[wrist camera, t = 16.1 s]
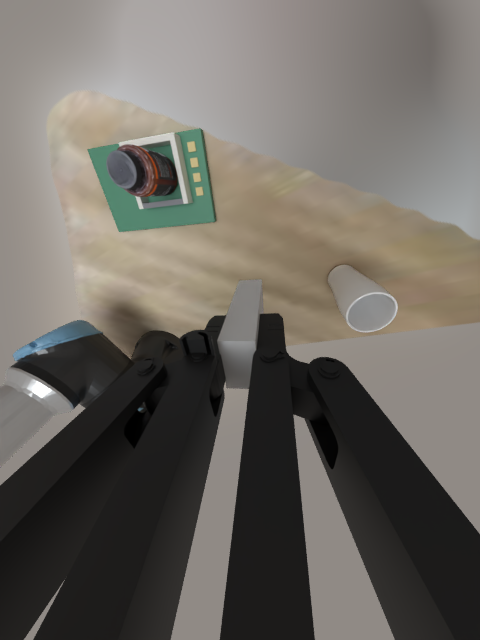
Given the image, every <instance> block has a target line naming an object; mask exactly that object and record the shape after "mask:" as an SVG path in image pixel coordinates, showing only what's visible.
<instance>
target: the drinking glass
mask: <svg viewBox="0 0 480 640" xmlns="http://www.w3.org/2000/svg"><path fill="white" fill-rule="evenodd" d="M328 284H329V286H330V288H331V290H332V293H333V295H334V298H335V301H336V303H337V306H338V309H339V311H340V313H341V315H342V316H343V318H344V319H345V321H346V322H347V324H348V325H349V326H350V327H351V328H352V329H354V330H356V331H359V332H373V331H377V330H380V329H382V328H384V327H385V326H387V325H388V324H389V323H390V322H391V321H392V320H393V319H394V317H395V316H396V314H397V310H398V305H397V302H396V300H395V298H394V297H393V296H392V295H391V294H390V293H389V292H388V291H387V290H386V289H384V288H383V287H382V286H381V285H379V284H378V283H377V282H375V281H373V280H372V279H370V278H368V277H367V276H365V275H363V274H362V273H360V272H358V271H357V270H355V269H354V268H353V267H352V266H350V265H339V266H337V267H335V268H334V269H333V270H332V271H331V272H330V273H329V275H328Z"/></svg>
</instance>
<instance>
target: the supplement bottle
mask: <svg viewBox="0 0 480 640" xmlns="http://www.w3.org/2000/svg"><path fill="white" fill-rule="evenodd" d="M106 166H107V171H108V174H109V176H110V178H111V179H112V181H113V182H114V183H115V184H116V185H117V186H119V187H121V188H123V189H124V190H125V191H127V192H128V193H130V194H131V195H134V196H137V197H152V196H166V195H169V194H171V193H172V192H173V191H174V190H175V188H176V186H177V180H178V177H177V172H176V169H175V166H174V165H173V163H172V162H171V160H170V159H169V158H167V157H166V156H165V155H163V154H160V153H157V152H154V151H151V150H148V149H145V148H142V147H139V146H136V145H131V144H126V145H122V146H120V147H119V148H118V149H117V150H114V151H112V152H111V153H110V154H109V155H108V157H107V160H106Z"/></svg>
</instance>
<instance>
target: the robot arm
mask: <svg viewBox="0 0 480 640" xmlns="http://www.w3.org/2000/svg"><path fill="white" fill-rule="evenodd" d="M13 357H14V360H15V361H17V363H15V364H14V365H12V366H11V367H10V368H8V369H7V370H6V375H5V382H4V384H3V385H2V386H1V387H0V468H1V467H2V465H4V464H5V463H6V462H7V461H8V460H9V459H10V458H11V457H12V456H13V455H14V454H15V453H16V452H17V451H18V450H19V449H20V448H21V447H22V446H23V445H24V444H25V443H26V442H27V441H28V440H29V439H30V438H32V436H34V435H35V434H36V433H37V432H38V431H39V430H40V428H42V427H43V426H44V425H45V424H46V423H47V422H48V421H49V420H50V419H51V418H52V417H53V416H55V415H58V414H62V413H67V412H71V411H72V410H73V409H74V408H75V407H76V406H77V405H78V404H80V405H82V406H83V407H85V408H86V409H85V410H83V412H81V413H80V414H79V415H78V416H77V417H76V418H75V419H74V420H72V421H71V422H70V423H69V424H68V425H67V426H66V427H65V428H64V429H62V430H61V431H60V432H59V433H58V434H57V435H56V436H55V437H54V438H53V439H51V440H50V441H49V442H48V443H47V444H46V445H45V446H44V447H43V448H41V449H40V450H39V451H38V452H37V453H36V454H35V455H34V456H33V457H31V458H30V459H29V460H28V461H27V462H26V463H25V464H24V465H23V466H22V467H20V468H19V469H18V470H17V471H16V472H15V473H14V474H13V475H12V476H11V477H9V478H8V479H7V480H6V481H5V482H4V483H3V484H2V485H0V640H24V638H25V637H26V636H27V634H28V633H29V631H30V630H31V628H32V627H33V625H34V624H35V622H36V621H37V619H38V618H39V616H40V615H41V613H42V612H43V610H44V609H45V608H46V606H47V605H48V603H49V602H50V600H51V599H52V597H53V596H54V594H55V593H56V591H57V590H58V589H59V587H60V586H61V584H62V582H63V581H64V580H65V581H64V583H63V585H62V587H61V588H60V590H59V592H58V594H57V596H56V598H55V600H54V602H53V604H52V605H51V607H50V609H49V611H48V613H47V615H46V617H45V619H44V621H43V622H42V624H41V626H40V628H39V630H38V632H37V634H36V636H35V638H34V640H170V639H171V635H172V630H173V626H174V621H175V617H176V612H177V608H178V604H179V599H180V595H181V590H182V586H183V581H184V577H185V572H186V568H187V563H188V559H189V554H190V550H191V545H192V541H193V536H194V532H195V528H196V523H197V519H198V514H199V510H200V505H201V501H202V496H203V492H204V487H205V483H206V478H207V474H208V469H209V464H210V461H211V456H212V452H213V447H214V442H215V438H216V434H217V429H218V425H219V420H220V416H221V411H222V407H223V403H224V390H223V388H224V383H225V382H226V386H227V388H240V389H249V394H248V402H247V412H246V419H245V428H244V438H243V446H242V454H241V462H240V472H239V479H238V488H237V497H236V505H235V514H234V523H233V532H232V540H231V548H230V557H229V566H228V574H227V582H226V591H225V600H224V608H223V617H222V626H221V634H220V640H315V638H314V628H313V617H312V606H311V596H310V585H309V575H308V565H307V554H306V543H305V533H304V523H303V512H302V502H301V491H300V481H299V470H298V459H297V449H296V439H295V429H294V418H293V414H294V415H297V416H300V417H303V418H305V421H306V423H307V426H308V428H309V431H310V433H311V436H312V438H313V441H314V443H315V446H316V448H317V450H318V453H319V455H320V458H321V460H322V463H323V465H324V467H325V470H326V472H327V475H328V477H329V480H330V482H331V484H332V487H333V489H334V492H335V494H336V497H337V499H338V502H339V504H340V507H341V509H342V511H343V514H344V516H345V519H346V521H347V524H348V526H349V529H350V531H351V533H352V536H353V538H354V540H355V543H356V546H357V548H358V550H359V553H360V555H361V558H362V560H363V562H364V565H365V568H366V570H367V572H368V575H369V577H370V580H371V582H372V585H373V587H374V589H375V592H376V594H377V597H378V599H379V601H380V604H381V607H382V609H383V611H384V614H385V616H386V619H387V621H388V624H389V626H390V629H391V631H392V633H393V636H394V638H395V640H480V534H479V533H478V531H477V530H476V529H475V528H474V526H473V525H472V524H471V522H470V521H469V520H468V519H467V517H466V516H465V515H464V514H463V512H462V511H461V510H460V509H459V507H458V506H457V505H456V504H455V502H454V501H453V500H452V499H451V497H450V496H449V495H448V493H447V492H446V491H445V490H444V488H443V487H442V486H441V485H440V483H439V482H438V481H437V480H436V478H435V477H434V476H433V474H432V473H431V472H430V471H429V469H428V468H427V467H426V466H425V464H424V463H423V462H422V461H421V459H420V458H419V457H418V456H417V454H416V453H415V452H414V450H413V449H412V448H411V447H410V445H409V444H408V443H407V442H406V440H405V439H404V438H403V437H402V435H401V434H400V433H399V432H398V431H397V429H396V428H395V427H394V425H393V424H392V423H391V421H390V420H389V419H388V418H387V416H386V415H385V414H384V413H383V411H382V410H381V409H380V408H379V406H378V405H377V404H376V402H375V401H374V400H373V399H372V398H371V396H370V395H369V394H368V392H367V391H366V390H365V389H364V387H363V386H362V385H361V384H360V383H359V381H358V380H357V378H356V377H355V376H354V375H353V373H352V372H351V371H350V370H349V368H348V367H347V366H346V365H345V364H343V363H342V362H340V361H338V360H336V359H333V358H329V357H320V358H317V359H314V360H313V361H311V362H310V364H307V363H304V362H300V361H297V360H295V359H293V358H292V357H291V356H289V354H288V353H287V351H286V346H285V335H284V324H283V318H282V317H281V316H280V314H279V313H274V314H264V311H263V292H262V279H257V280H239V282H238V285H237V288H236V291H235V293H234V296H233V299H232V302H231V304H230V307H229V310H228V313H227V315H225V316H214V317H213V318H212V319H210V320H209V322H208V324H207V326H206V328H205V330H194V331H191V332H188V333H186V334H184V335H183V336H182V337H181V338H180V339H179V338H177V337H176V336H174V335H172V334H170V333H167V332H163V331H151V332H148V333H146V334H144V335H143V336H142V337H141V338H140V339H139V340H138V342H137V344H136V346H135V350H134V352H133V355H132V358H131V359H130V358H128V357H127V356H126V355H125V354H124V353H123V352H122V351H121V350H120V349H119V348H118V347H116V346H115V345H114V344H113V343H112V342H111V341H110V340H109V339H108V338H107V337H106V336H105V335H104V334H103V332H101V331H99V330H97V329H96V328H95V327H94V326H92V325H91V324H90V323H89V322H87V321H84V320H77V321H73V322H71V323H68V324H66V325H63V326H61V327H59V328H57V329H55V330H53V331H51V332H49V333H47V334H45V335H43V336H41V337H39V338H38V339H36V340H35V341H33V342H31V343H29V344H27V345H25V346H23V347H22V348H20V349H19V350H17V351H16V352H15V353H14V354H13ZM65 578H66V579H65Z"/></svg>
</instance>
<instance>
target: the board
mask: <svg viewBox="0 0 480 640" xmlns="http://www.w3.org/2000/svg"><path fill="white" fill-rule="evenodd" d="M118 143H119V144H114V145H108V146H103V147H98V148H92V149H87V150H88V152H89V155H90V158H91V160H92V163H93V165H94V168H95V171H96V173H97V176H98V178H99V181H100V184H101V186H102V189H103V191H104V194H105V197H106V199H107V202H108V204H109V207H110V210H111V212H112V215H113V217H114V220H115V223H116V225H117V228H118V231H119V232H123V231H133V230H142V229H152V228H161V227H171V226H180V225H190V224H199V223H208V222H215V221H216V216H215V210H214V203H213V197H212V190H211V183H210V177H209V170H208V163H207V157H206V150H205V144H204V137H203V130H202V129H194V130H189V131H183V132H178V133H174V132H172V133H166V134H161V135H156V136H150V137H145V138H140V139H134V140H129V141H124V142H118ZM126 144H131V145H136V146H139V147H142V148H145V149H148V150H151V151H154V152H157V153H160V154H163V155H165V156H166V157H167V158H169V159H170V160H171V162H172V163H173V165H174V166H175V169H176V172H177V177H178V180H177V186H176V188H175V190H174V191H173V192H172V193H171V194H169V195H166V196H152V197H137V196H134V195H131V194H130V193H128V192H127V191H125V190H124V189H123V188H121V187H119V186H117V185H116V184H115V183H114V182H113V181H112V179H111V178H110V176H109V174H108V171H107V166H106V160H107V157H108V155H109V154H110V153H111V152H112V151H114V150H117V149H118V148H119V147H120V146H122V145H126Z"/></svg>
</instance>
